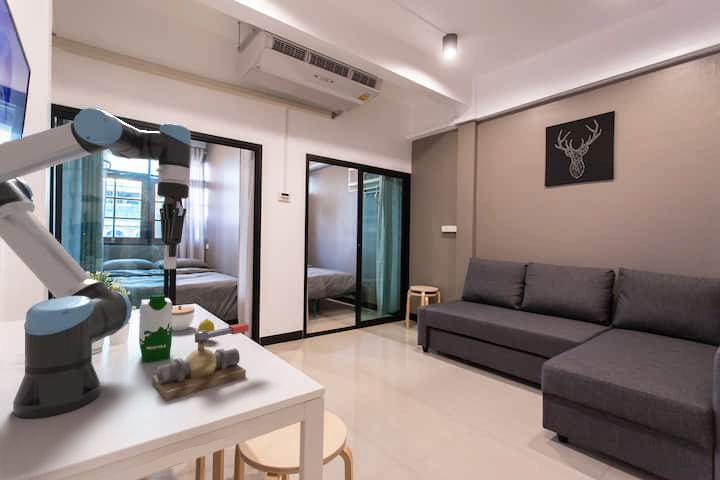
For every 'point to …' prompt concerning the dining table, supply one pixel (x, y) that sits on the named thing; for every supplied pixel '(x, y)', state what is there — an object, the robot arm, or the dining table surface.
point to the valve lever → (220, 332)
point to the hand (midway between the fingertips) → (169, 268)
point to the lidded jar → (182, 317)
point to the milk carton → (155, 328)
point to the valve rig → (198, 372)
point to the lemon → (206, 325)
